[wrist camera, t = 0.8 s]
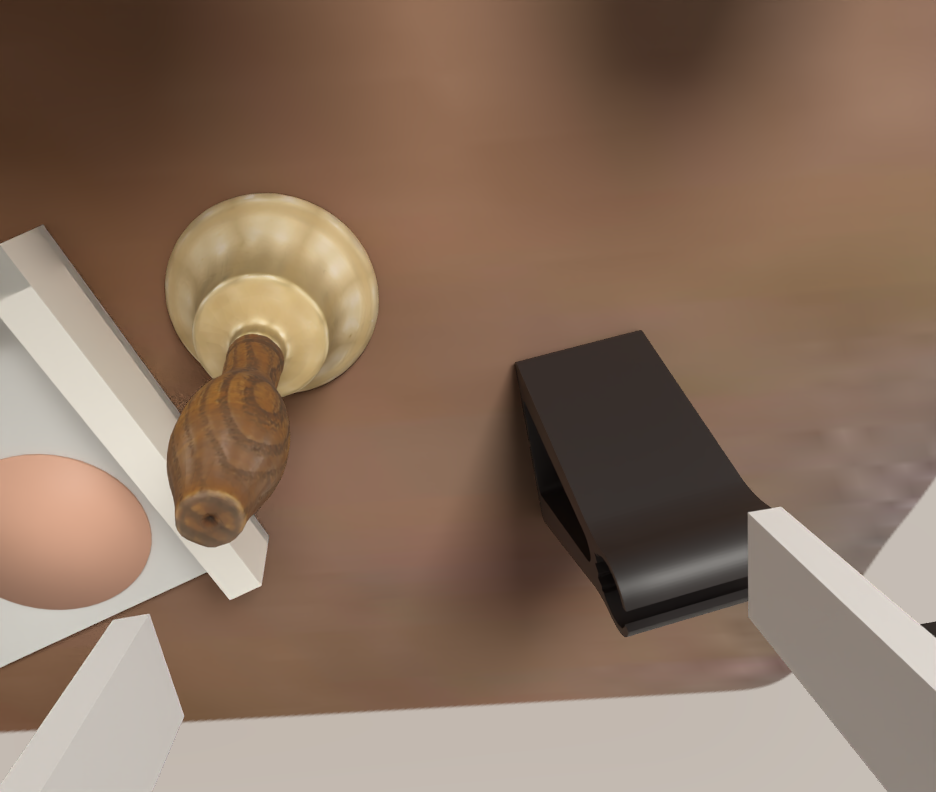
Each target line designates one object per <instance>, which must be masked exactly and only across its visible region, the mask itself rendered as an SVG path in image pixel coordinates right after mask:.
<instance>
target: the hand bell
mask: <svg viewBox="0 0 936 792" xmlns="http://www.w3.org/2000/svg"><path fill="white" fill-rule="evenodd" d="M165 296H166V305H167V309H168V313H169V316H170V319H171V321H172V324H173V326H174V329H175V331H176V333H177V335H178V336H179V338H180V339H181V341H182V343H183V344H184V345H185V347H186V348H187V350H188V351H189V352H190V353H191V354H192V355H193V356H194V358H195V359H196V360H197V361H199V362H200V363H201V365H202V366H203V368H204V369H205V370H206V371H207V373H208V374H209V375H210V376H211V377H212V378H213V379H212V380H210V381H209V382H208V383H206V384H205V385H204V386H203V387H201V388H200V389H199V390H198V391H197V392H196V393H195V394H194V396H193V397H192V398H191V399H190V400H189V402H188V403H187V405H186V406H185V408H184V409H183V411H182V413H181V415H180V416H179V418H178V420H177V422H176V424H175V426H174V429H173V431H172V434H171V436H170V440H169V444H168V451H167V476H168V481H169V486H170V489H171V493H172V496H173V500H174V506H175V526H176V528H177V531H178V532H179V533H180V535H181V536H182V537H184V538H185V539H187V540H189V541H191V542H194V543H196V544H198V545H202V546H205V547H213V548H215V547H218V546H221V545H224V544H227V543H230V542H231V541H233V540H234V539H236V538H237V537H238V535H239V534H240V533H241V532H242V531H243V529H244V527H245V525H246V523H247V521H248V520H249V518H250V517H251V516H252V515H253V514H254V513H255V512H256V511H257V510H258V509H259V508H260V507H261V506H262V505H263V504H264V503H265V501H266V500H267V499H268V498H269V497H270V495H271V494H272V493H273V491H274V490H275V488H276V486H277V485H278V483H279V481H280V479H281V477H282V475H283V472H284V469H285V466H286V463H287V457H288V452H289V446H290V426H289V419H288V414H287V410H286V407H285V404H284V402H283V399H282V397H284V396H287V395H290V394H293V393H296V392H301V391H306V390H310V389H313V388H316V387H319V386H321V385H324V384H326V383H328V382H330V381H331V380H333V379H335V378H336V377H338V376H339V375H341V374H342V373H343V372H345V371H346V370H347V369H348V368H349V367H350V366H351V365H352V364H353V363H354V362H355V361H356V360H357V359H358V358H359V356H360V355H361V354H362V352H363V351H364V349H365V348H366V346H367V344H368V342H369V340H370V338H371V336H372V334H373V331H374V328H375V324H376V320H377V315H378V307H379V296H378V285H377V280H376V276H375V273H374V270H373V267H372V264H371V262H370V259H369V257H368V255H367V253H366V251H365V249H364V248H363V246H362V245H361V243H360V242H359V240H358V239H357V238H356V236H355V235H354V234H353V233H352V232H351V231H350V230H349V229H348V227H347V226H346V225H344V224H343V223H342V222H341V221H340V220H339V219H337V218H336V217H335V216H333V215H332V214H330V213H329V212H327V211H326V210H324V209H322V208H320V207H318V206H316V205H314V204H312V203H310V202H308V201H305V200H303V199H299V198H296V197H292V196H287V195H282V194H279V193H256V194H248V195H243V196H238V197H234V198H231V199H228V200H225V201H223V202H221V203H218V204H216V205H214V206H212V207H211V208H209V209H207V210H206V211H204V212H203V213H202V214H200V215H199V216H198V217H197V218H195V219H194V220H193V221H192V222H191V223H190V224H189V226H188V227H187V228H186V229H185V230H184V232H183V233H182V234H181V236H180V237H179V239H178V241H177V242H176V244H175V246H174V248H173V251H172V253H171V256H170V259H169V261H168V265H167V270H166V277H165Z"/></svg>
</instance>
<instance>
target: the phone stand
mask: <svg viewBox="0 0 936 792" xmlns="http://www.w3.org/2000/svg"><path fill="white" fill-rule="evenodd" d="M515 367H516V373H517V378H518V384H519V389H520V395H521V400H522V406H523V412H524V417H525V423H526V428H527V434H528V440H529V442H530V451H531V456H532V462H533V468H534V473H535V479H536V484H537V490H538V495H539V501H540V507H541V512H542V516H543V519H544V521H545V523H546V524H547V525H548V527H549V528H550V529H551V531H552V532H553V533H554V534H555V536H556V537H557V538H558V540H559V541H560V542H561V543H562V545H563V546H564V547H565V549H566V550H567V551H568V552H569V554H570V555H571V556H572V558H573V559H574V560H575V561H576V563H577V564H578V565H579V567H580V568H581V569H582V570H583V572H584V573H585V574H586V576H587V577H588V578H589V579H590V581H591V582H592V583H593V585H594V586H595V587H596V589H597V590H598V592H599V593H600V595H601V597H602V599H603V600H604V602H605V604H606V606H607V608H608V610H609V613H610V615H611V617H612V619H613V621H614V623H615V625H616V627H617V628H618V630H619V631H620V633H621V634H622V635H623V636H624V637H628V636H631V635H635V634H638V633H642V632H645V631H648V630H652V629H655V628H659V627H662V626H665V625H669V624H672V623H676V622H679V621H682V620H686V619H689V618H692V617H696V616H699V615H703V614H706V613H709V612H713V611H716V610H720V609H723V608H726V607H730V606H733V605H737V604H740V603H743V602H747V601H748V512H753V511H759V510H765V509H771V507H769V506H768V505H767V504H765V503H764V502H763V501H761V500H760V499H759V498H758V497H757V496H756V495H755V494H754V493H753V492H752V491H751V490H750V489H749V487H748V486H747V485H746V484H745V482H744V481H743V480H742V478H741V477H740V475H739V474H738V472H737V471H736V469H735V468H734V466H733V465H732V463H731V462H730V460H729V459H728V457H727V456H726V455H725V453H724V452H723V450H722V449H721V447H720V446H719V444H718V443H717V441H716V440H715V438H714V437H713V435H712V434H711V432H710V431H709V429H708V428H707V426H706V425H705V423H704V422H703V420H702V419H701V417H700V416H699V415H698V413H697V412H696V410H695V409H694V407H693V406H692V404H691V403H690V401H689V400H688V398H687V397H686V395H685V394H684V392H683V391H682V389H681V388H680V386H679V385H678V383H677V382H676V380H675V379H674V377H673V376H672V374H671V373H670V372H669V370H668V369H667V367H666V366H665V364H664V363H663V361H662V360H661V358H660V357H659V355H658V354H657V352H656V351H655V349H654V348H653V346H652V345H651V343H650V342H649V340H648V339H647V337H646V336H645V334H644V333H643V332H642V331H641V330H639V331H635V332H631V333H627V334H623V335H619V336H615V337H611V338H608V339H604V340H600V341H596V342H592V343H588V344H584V345H580V346H576V347H573V348H569V349H565V350H561V351H557V352H553V353H549V354H545V355H541V356H538V357H534V358H530V359H526V360H522V361H518V362H515Z"/></svg>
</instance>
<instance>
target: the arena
mask: <svg viewBox="0 0 936 792" xmlns="http://www.w3.org/2000/svg"><path fill="white" fill-rule="evenodd" d="M180 415H181V414H180V413H179V411H178V410H177V408H176V407H175V406H174V404H173V403H172V402H171V400H170V399H169V397H168V396H167V395H166V393H165V392H164V391H163V389H162V388H161V386H160V385H159V384H158V382H157V381H156V380H155V378H154V377H153V375H152V374H151V373H150V371H149V370H148V368H147V367H146V366H145V364H144V363H143V362H142V360H141V359H140V357H139V356H138V355H137V353H136V352H135V351H134V349H133V348H132V346H131V345H130V344H129V342H128V341H127V340H126V338H125V337H124V335H123V334H122V333H121V331H120V330H119V328H118V327H117V326H116V324H115V323H114V322H113V320H112V319H111V317H110V316H109V315H108V313H107V312H106V311H105V309H104V308H103V306H102V305H101V304H100V302H99V301H98V299H97V298H96V297H95V295H94V294H93V293H92V291H91V290H90V288H89V287H88V286H87V284H86V283H85V282H84V280H83V279H82V277H81V276H80V275H79V273H78V272H77V271H76V269H75V268H74V266H73V265H72V264H71V262H70V261H69V259H68V258H67V257H66V255H65V254H64V253H63V251H62V250H61V248H60V247H59V246H58V244H57V243H56V242H55V240H54V239H53V237H52V236H51V235H50V233H49V232H48V231H47V229H46V228H45V226H44V225H41V226H39V227H37V228H34V229H32V230H30V231H28V232H25V233H23V234H21V235H19V236H16V237H14V238H12V239H10V240H7V241H5V242H3V243H1V244H0V668H1V667H3V666H5V665H7V664H9V663H11V662H13V661H16V660H18V659H20V658H22V657H24V656H26V655H29V654H31V653H33V652H35V651H37V650H39V649H42V648H44V647H46V646H48V645H50V644H52V643H55V642H57V641H59V640H61V639H63V638H65V637H68V636H70V635H72V634H74V633H76V632H78V631H81V630H83V629H85V628H87V627H89V626H91V625H94V624H96V623H98V622H100V621H102V620H104V619H107V618H109V617H111V616H113V615H115V614H117V613H120V612H122V611H124V610H126V609H128V608H130V607H133V606H135V605H137V604H139V603H141V602H143V601H146V600H148V599H150V598H152V597H154V596H156V595H159V594H161V593H163V592H165V591H167V590H169V589H172V588H174V587H176V586H178V585H180V584H182V583H185V582H187V581H189V580H191V579H193V578H195V577H198V576H200V575H202V574H204V573H206V572H207V573H208V574H209V575H210V576H211V578H212V579H213V580H214V581H215V582H216V584H217V585H218V586H219V587H220V589H221V590H222V591H223V592H224V594H225V595H226V596H227V597H228V598H229V600H231V599H234V598H236V597H238V596H240V595H242V594H244V593H247V592H249V591H251V590H253V589H255V588H257V587H260V586H262V579H263V573H264V566H265V560H266V553H267V547H268V540H269V535H268V534H267V533H266V531H265V530H264V528H263V527H262V526H261V524H260V523H259V522H258V520H257V519H256V517H255V516H254V515H252V516H251V517H250V518H249V520H248V521H247V523H246V525H245V527H244V529H243V531H242V532H241V533H240V534H239V535H238V537H237V538H236V539H234V540H233V541H231V542H230V543H227V544H224V545H221V546H218V547H215V548H213V547H205V546H202V545H198V544H196V543H194V542H191V541H189V540H187V539H185V538H184V537H182V536H181V535H180V533H179V532H178V531H177V528H176V526H175V506H174V500H173V496H172V493H171V489H170V486H169V481H168V476H167V451H168V444H169V440H170V436H171V434H172V431H173V429H174V426H175V424H176V422H177V420H178V418H179V416H180Z"/></svg>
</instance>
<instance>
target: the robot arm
mask: <svg viewBox="0 0 936 792" xmlns="http://www.w3.org/2000/svg"><path fill="white" fill-rule="evenodd" d="M748 617H749V618H750V620H751V621H752V622H753V623H754V625H755V626H756V627H757V628H758V630H759V631H760V632H761V634H762V635H763V636H764V637H765V639H766V640H767V641H768V642H769V644H770V645H771V646H772V647H773V649H774V650H775V651H776V652H777V654H778V655H779V656H780V657H781V659H782V660H783V661H784V662H785V664H786V665H787V666H788V667H789V669H790V670H791V671H792V672H793V674H794V675H795V676H796V677H797V679H798V680H799V681H800V682H801V684H802V685H803V686H804V687H805V689H806V690H807V691H808V692H809V694H810V695H811V696H812V697H813V699H814V700H815V701H816V702H817V704H818V705H819V706H820V708H821V709H822V710H823V711H824V712H825V714H826V715H827V716H828V718H829V719H830V720H831V721H832V722H833V724H834V725H835V726H836V727H837V729H838V730H839V731H840V733H841V734H842V735H843V736H844V738H845V739H846V740H847V741H848V743H849V744H850V745H851V746H852V748H853V749H854V750H855V751H856V753H857V754H858V755H859V756H860V758H861V759H862V760H863V761H864V763H865V764H866V765H867V766H868V768H869V769H870V770H871V771H872V773H873V774H874V775H875V776H876V778H877V779H878V780H879V782H880V783H881V784H882V785H883V787H884V788H885V789H886V790H887V792H936V622H931V623H925V624H919V623H918V622H917V621H915V620H914V619H913V618H912V617H911V616H909V615H908V614H907V613H906V612H905V611H904V610H902V609H901V608H900V607H899V606H897V605H896V604H895V603H894V602H893V601H892V600H891V599H889V598H888V597H887V596H886V595H885V594H883V593H882V592H881V591H880V590H879V589H878V588H876V587H875V586H874V585H873V584H872V583H871V582H869V581H868V580H867V579H866V578H865V577H863V576H862V575H861V574H860V573H859V572H858V571H856V570H855V569H854V568H853V567H852V566H851V565H849V564H848V563H847V562H846V561H845V560H843V559H842V558H841V557H840V556H839V555H838V554H836V553H835V552H834V551H833V550H832V549H830V548H829V547H828V546H827V545H826V544H825V543H823V542H822V541H821V540H820V539H819V538H818V537H816V536H815V535H814V534H813V533H812V532H810V531H809V530H808V529H807V528H806V527H805V526H803V525H802V524H801V523H800V522H799V521H797V520H796V519H795V518H794V517H793V516H792V515H790V514H789V513H788V512H787V511H786V510H784V509H783V508H782V507H777V508H771V509H765V510H759V511H753V512H748ZM183 718H184V714H183V711H182V708H181V705H180V702H179V699H178V696H177V693H176V690H175V688H174V685H173V682H172V679H171V676H170V673H169V670H168V667H167V664H166V661H165V658H164V655H163V652H162V649H161V647H160V644H159V641H158V638H157V635H156V632H155V629H154V626H153V623H152V620H151V617H150V614H145V615H139V616H133V617H127V618H121V619H115V620H113V621H112V622H111V624H110V625H109V626H108V628H107V629H106V631H105V632H104V634H103V635H102V637H101V638H100V640H99V641H98V642H97V644H96V645H95V647H94V648H93V650H92V651H91V653H90V654H89V656H88V657H87V659H86V660H85V661H84V663H83V664H82V666H81V667H80V669H79V670H78V672H77V673H76V675H75V676H74V677H73V679H72V680H71V682H70V683H69V685H68V686H67V688H66V689H65V691H64V692H63V693H62V695H61V696H60V698H59V699H58V701H57V702H56V704H55V705H54V707H53V708H52V710H51V711H50V712H49V714H48V715H47V717H46V718H45V720H44V721H43V723H42V724H41V726H40V727H39V728H38V730H37V731H36V733H35V734H34V736H33V737H32V739H31V740H30V742H29V743H28V745H27V746H26V748H25V749H24V750H23V752H22V753H21V755H20V756H19V758H18V759H17V761H16V762H15V764H14V765H13V766H12V768H11V769H10V771H9V772H8V774H7V775H6V777H5V778H4V779H3V781H2V782H1V784H0V792H152V791H153V789H154V787H155V784H156V782H157V779H158V777H159V775H160V772H161V770H162V768H163V765H164V763H165V761H166V758H167V756H168V754H169V751H170V749H171V746H172V744H173V742H174V740H175V737H176V735H177V732H178V730H179V728H180V725H181V723H182V721H183Z"/></svg>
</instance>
